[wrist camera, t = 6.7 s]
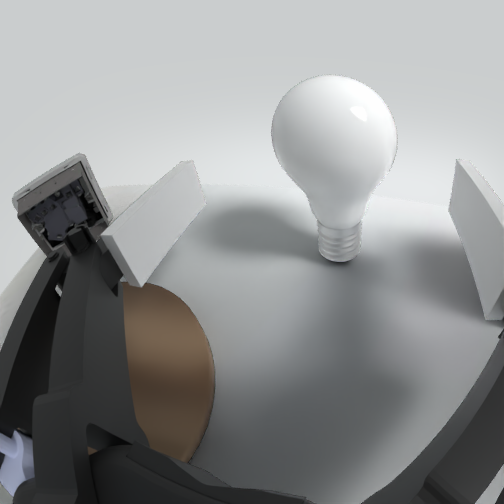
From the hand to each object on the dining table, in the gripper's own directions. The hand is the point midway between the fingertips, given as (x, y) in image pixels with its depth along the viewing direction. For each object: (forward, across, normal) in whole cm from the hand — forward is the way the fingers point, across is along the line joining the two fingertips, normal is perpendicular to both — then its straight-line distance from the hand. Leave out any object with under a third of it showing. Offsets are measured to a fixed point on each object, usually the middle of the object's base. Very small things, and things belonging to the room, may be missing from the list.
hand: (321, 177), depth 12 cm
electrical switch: (+2, -25, -7) cm, 26 cm away
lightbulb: (+2, +1, -7) cm, 7 cm away
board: (-11, -11, -6) cm, 17 cm away
